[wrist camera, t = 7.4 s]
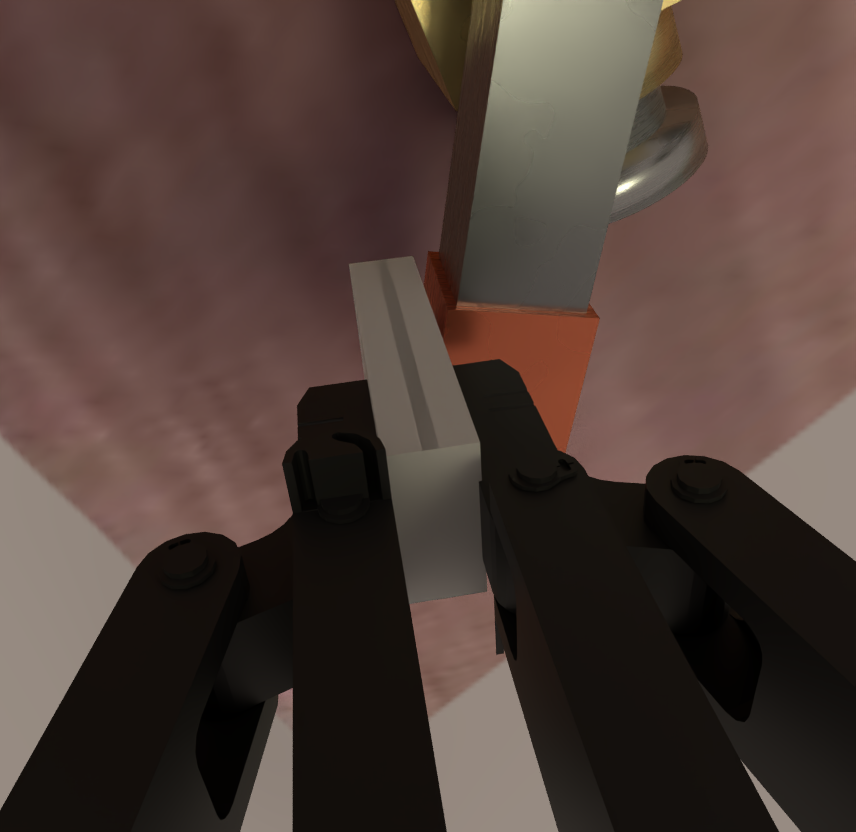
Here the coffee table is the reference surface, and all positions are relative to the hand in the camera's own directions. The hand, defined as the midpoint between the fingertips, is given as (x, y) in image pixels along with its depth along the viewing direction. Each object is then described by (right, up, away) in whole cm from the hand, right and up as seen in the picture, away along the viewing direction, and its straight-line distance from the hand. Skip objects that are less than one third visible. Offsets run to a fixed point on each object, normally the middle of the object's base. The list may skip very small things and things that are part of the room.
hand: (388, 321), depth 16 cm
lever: (+3, +3, 0) cm, 4 cm away
